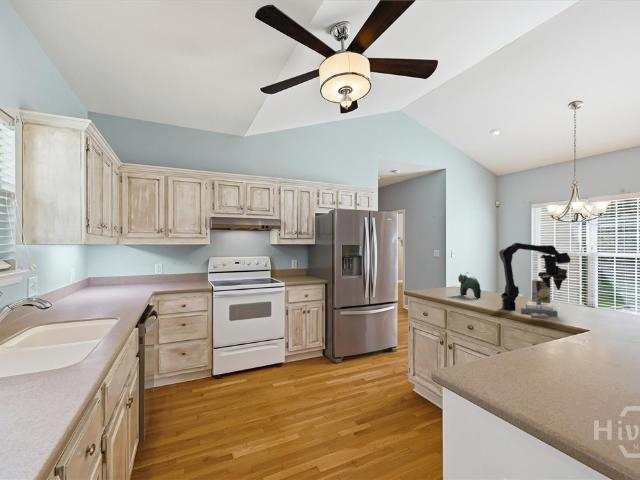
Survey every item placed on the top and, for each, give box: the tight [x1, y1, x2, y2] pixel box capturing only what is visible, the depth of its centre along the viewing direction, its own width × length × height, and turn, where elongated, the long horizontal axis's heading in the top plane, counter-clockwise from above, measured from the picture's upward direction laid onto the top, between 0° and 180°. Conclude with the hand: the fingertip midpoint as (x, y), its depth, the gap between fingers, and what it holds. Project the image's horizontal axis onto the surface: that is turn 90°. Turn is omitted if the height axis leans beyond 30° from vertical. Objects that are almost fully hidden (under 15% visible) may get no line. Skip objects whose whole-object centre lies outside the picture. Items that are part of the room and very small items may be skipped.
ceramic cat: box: [457, 271, 482, 299], centre depth 245 cm, size 20×6×20 cm, turn 17°
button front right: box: [540, 304, 553, 310], centre depth 184 cm, size 5×5×2 cm
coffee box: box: [531, 279, 551, 305], centre depth 216 cm, size 9×6×16 cm
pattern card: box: [530, 313, 549, 320], centre depth 178 cm, size 8×8×1 cm
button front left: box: [526, 303, 538, 309], centre depth 189 cm, size 5×5×2 cm
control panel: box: [521, 303, 558, 318], centre depth 190 cm, size 17×17×3 cm
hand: (553, 288), depth 194 cm, fingers open, 9 cm apart
